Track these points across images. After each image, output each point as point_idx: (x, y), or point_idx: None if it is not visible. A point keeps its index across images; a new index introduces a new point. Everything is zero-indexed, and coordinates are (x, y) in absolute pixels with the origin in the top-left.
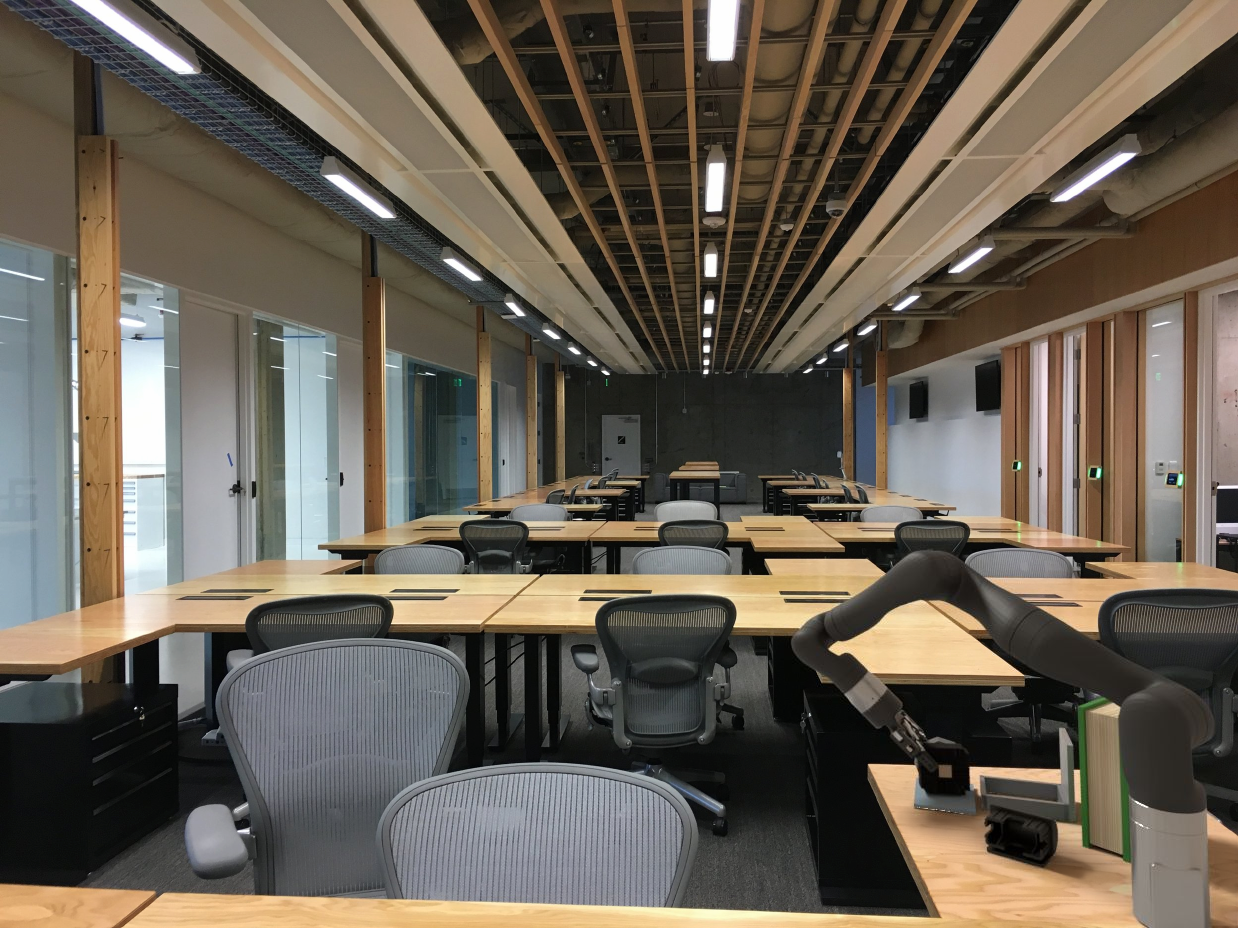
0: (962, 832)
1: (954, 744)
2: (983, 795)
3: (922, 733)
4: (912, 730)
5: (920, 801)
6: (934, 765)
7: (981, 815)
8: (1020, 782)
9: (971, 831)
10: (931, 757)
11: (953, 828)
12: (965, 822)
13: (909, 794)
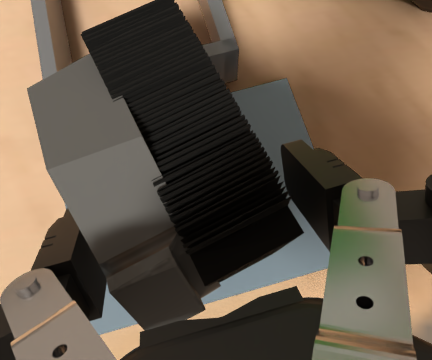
0: (425, 87)
1: (119, 56)
2: (236, 46)
3: (13, 298)
4: (328, 299)
5: (320, 245)
6: (323, 152)
7: (272, 74)
8: None
9: (401, 70)
10: (313, 160)
11: (418, 113)
12: (352, 97)
13: None
